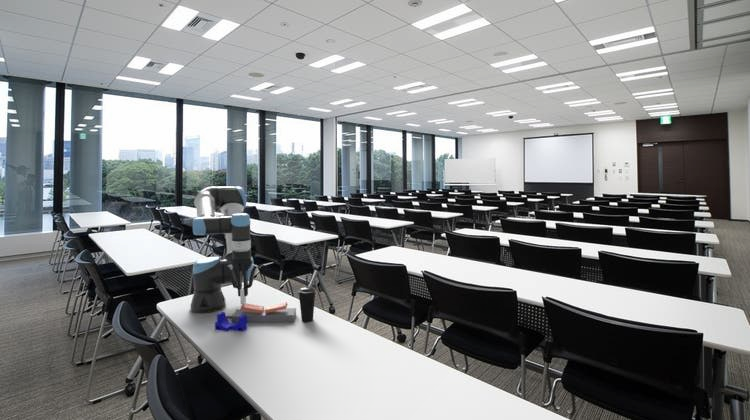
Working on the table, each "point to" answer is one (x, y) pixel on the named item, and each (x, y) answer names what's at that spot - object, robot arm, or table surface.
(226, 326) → the cable clip
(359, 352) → the table surface
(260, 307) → the rocker
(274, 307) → the rocker
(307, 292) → the drinking cup
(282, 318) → the power strip
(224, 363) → the table surface
